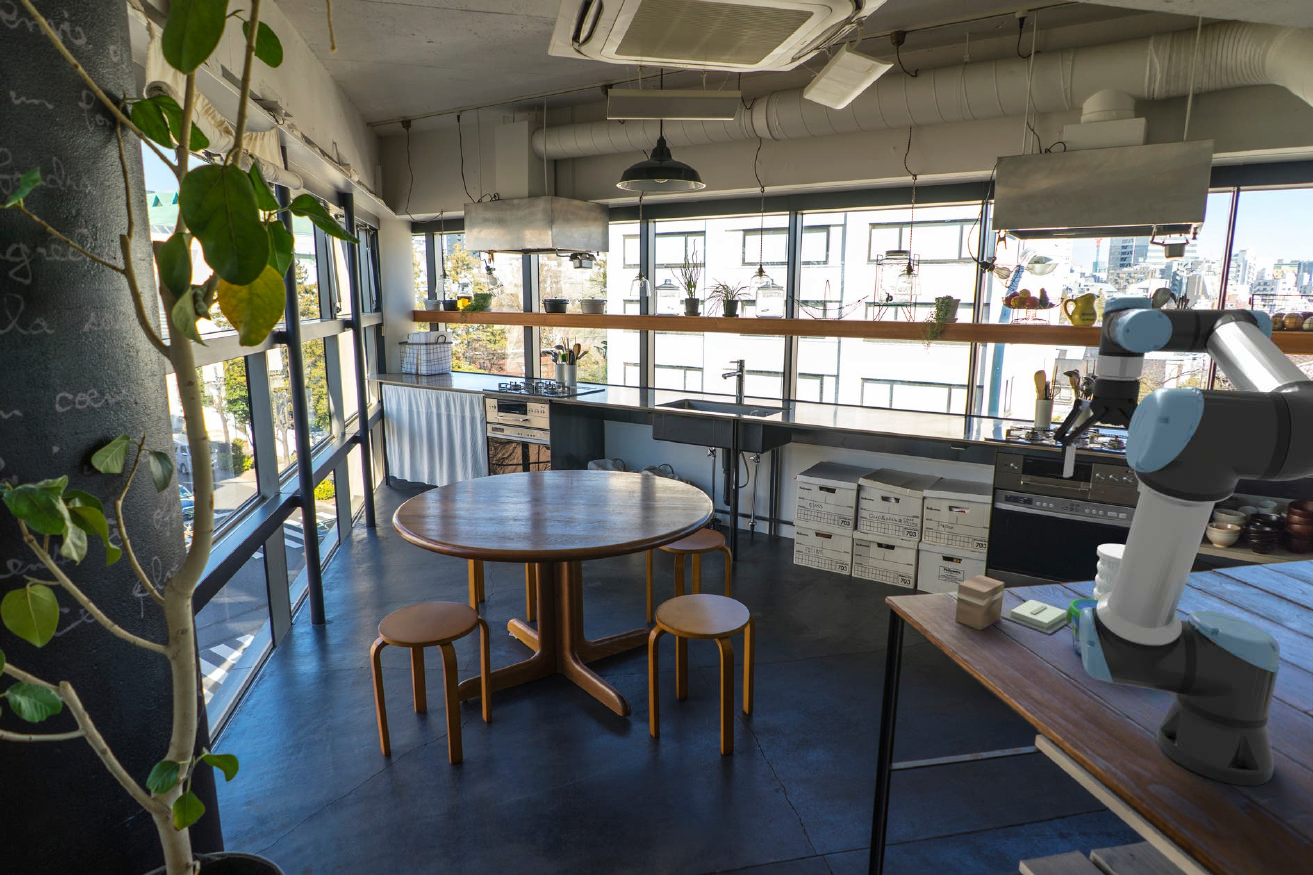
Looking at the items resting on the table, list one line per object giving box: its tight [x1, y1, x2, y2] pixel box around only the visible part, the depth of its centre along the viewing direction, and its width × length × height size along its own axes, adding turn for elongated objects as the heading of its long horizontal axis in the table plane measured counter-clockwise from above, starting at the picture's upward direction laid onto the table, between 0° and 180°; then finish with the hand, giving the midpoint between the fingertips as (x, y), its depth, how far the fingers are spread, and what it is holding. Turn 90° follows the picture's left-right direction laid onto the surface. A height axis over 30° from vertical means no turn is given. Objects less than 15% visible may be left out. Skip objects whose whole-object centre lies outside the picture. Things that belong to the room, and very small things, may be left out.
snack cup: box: [1066, 598, 1098, 656], centre depth 149 cm, size 16×10×10 cm
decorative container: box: [1093, 543, 1126, 600], centre depth 160 cm, size 12×12×18 cm
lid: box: [1010, 599, 1067, 629], centre depth 166 cm, size 10×8×2 cm
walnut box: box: [954, 574, 1005, 631], centre depth 165 cm, size 9×6×9 cm
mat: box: [1001, 600, 1069, 636], centre depth 167 cm, size 13×11×1 cm
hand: (1103, 483), depth 144 cm, fingers open, 13 cm apart
